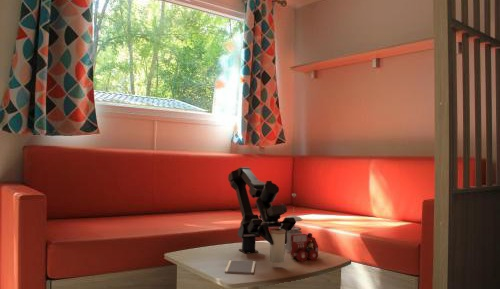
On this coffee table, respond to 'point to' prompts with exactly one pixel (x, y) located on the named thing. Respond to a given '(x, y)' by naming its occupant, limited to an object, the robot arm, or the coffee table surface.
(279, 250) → the canister
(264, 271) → the coffee table surface
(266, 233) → the robot arm
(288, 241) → the french press
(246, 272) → the mat
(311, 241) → the toy fire truck
